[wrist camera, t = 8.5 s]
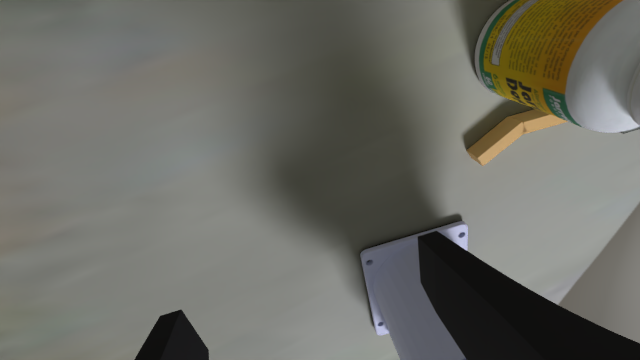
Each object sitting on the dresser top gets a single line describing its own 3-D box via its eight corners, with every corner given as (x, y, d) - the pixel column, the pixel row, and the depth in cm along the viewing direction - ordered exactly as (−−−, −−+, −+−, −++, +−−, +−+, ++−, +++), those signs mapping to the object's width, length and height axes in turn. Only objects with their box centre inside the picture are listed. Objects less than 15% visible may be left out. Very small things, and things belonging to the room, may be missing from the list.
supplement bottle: (577, 14, 18) (849, 25, 10) (522, 105, 20) (708, 176, 12) (505, -27, 17) (762, -55, 8) (452, 77, 19) (615, 138, 10)
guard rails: (576, 128, 22) (592, 134, 21) (466, 159, 22) (477, 167, 20) (624, -113, 16) (650, -121, 15) (470, -76, 15) (486, -82, 14)
